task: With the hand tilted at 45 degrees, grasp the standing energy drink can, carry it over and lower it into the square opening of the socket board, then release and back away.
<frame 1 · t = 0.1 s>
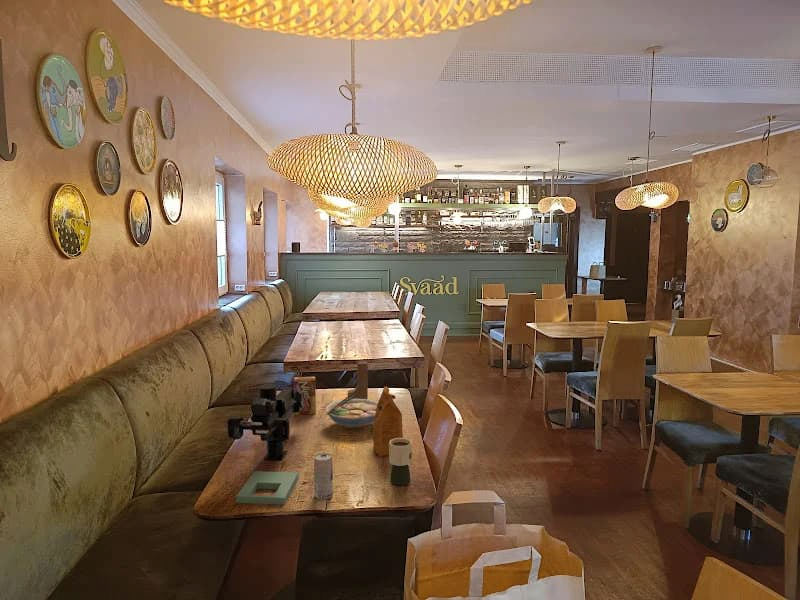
hand: (249, 438, 158), 17 cm above the table, tool horizontal, fingers open, 9 cm apart
energy drink: (323, 496, 158), on the table
candy box: (305, 413, 229), on the table
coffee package: (387, 450, 191), on the table
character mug: (400, 482, 167), on the table
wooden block: (357, 401, 244), on the table
socket board: (268, 490, 161), on the table
ramen bowl: (354, 425, 215), on the table
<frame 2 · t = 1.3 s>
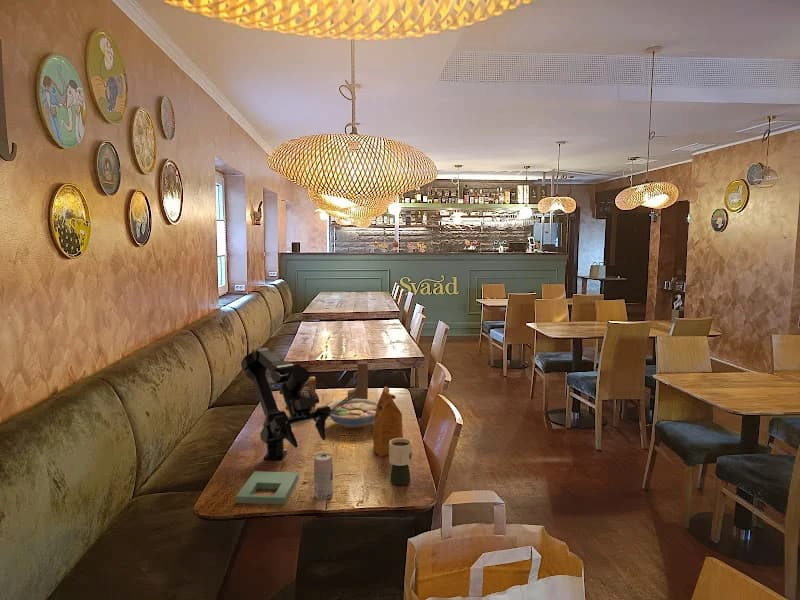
hand: (310, 443, 163), 13 cm above the table, tool tilted 45°, fingers open, 9 cm apart
nothing on the table moved.
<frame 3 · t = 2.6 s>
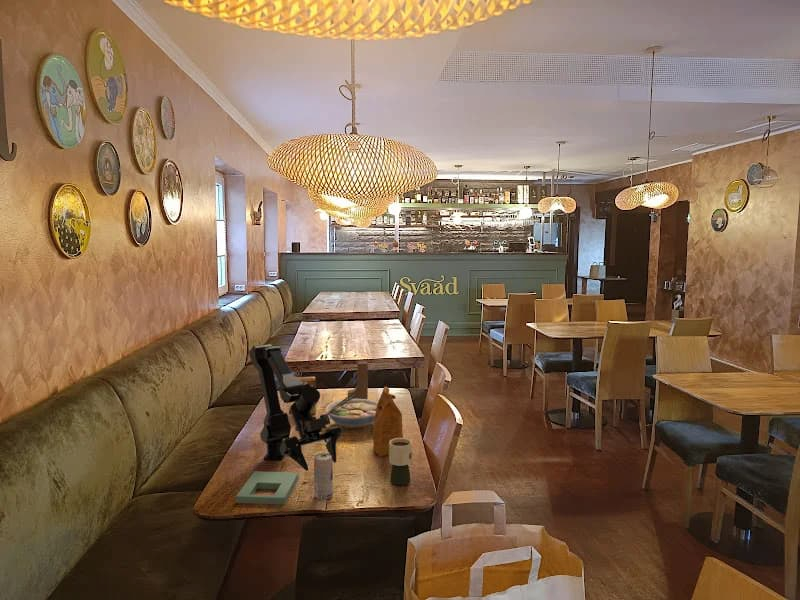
hand: (321, 466, 158), 9 cm above the table, tool tilted 45°, fingers open, 9 cm apart
nothing on the table moved.
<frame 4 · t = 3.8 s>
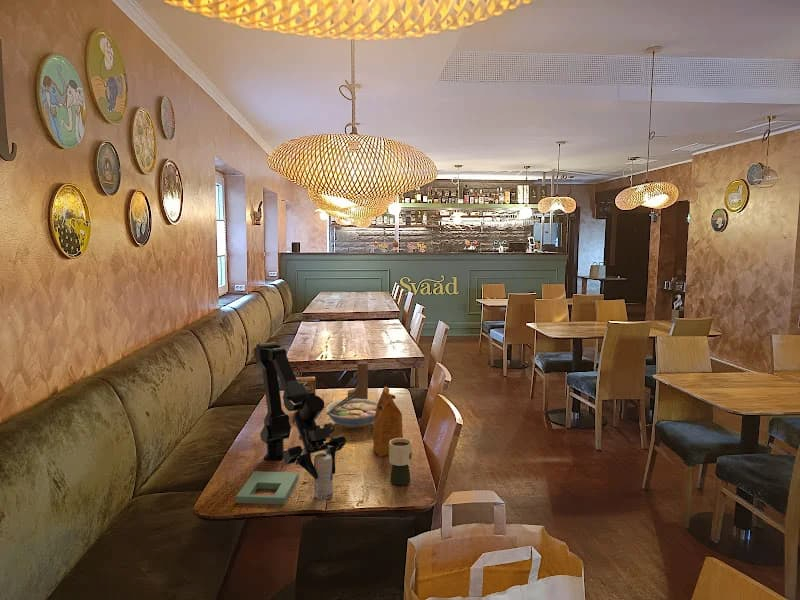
hand: (325, 476, 156), 7 cm above the table, tool tilted 45°, fingers closed on energy drink, 5 cm apart
energy drink: (323, 496, 158), on the table, touching gripper
everything else where it was.
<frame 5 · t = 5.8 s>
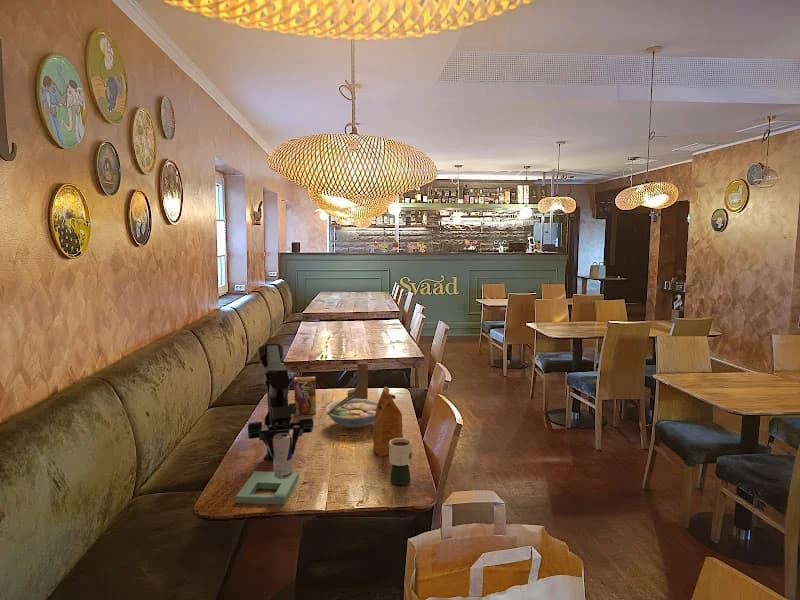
hand: (282, 455, 154), 13 cm above the table, tool tilted 45°, fingers closed on energy drink, 5 cm apart
energy drink: (283, 475, 157), point 6 cm above the table, touching gripper
everything else where it was.
when the fingers open (8 cm above the table, at t = 7.8 s): energy drink drops 2 cm, resting in socket board.
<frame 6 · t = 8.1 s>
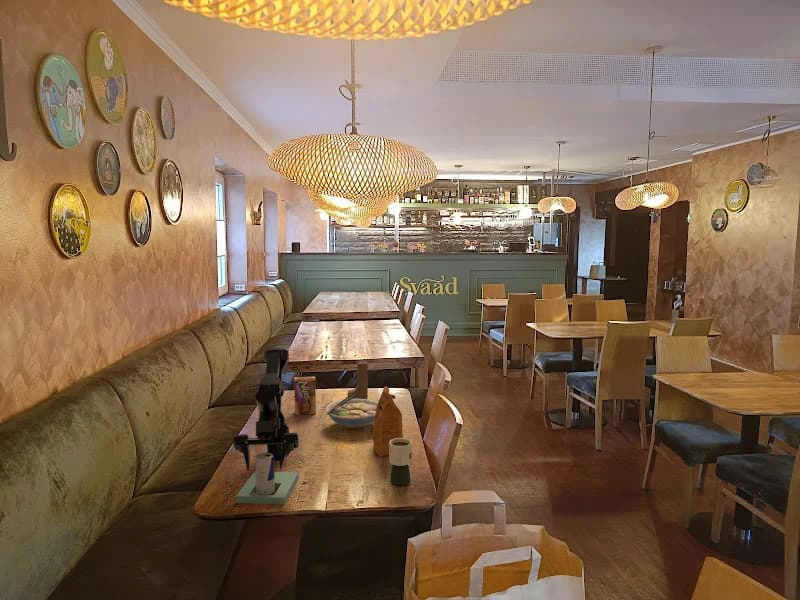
hand: (264, 469, 156), 9 cm above the table, tool tilted 45°, fingers open, 9 cm apart
energy drink: (265, 495, 158), resting in socket board
everything else where it was.
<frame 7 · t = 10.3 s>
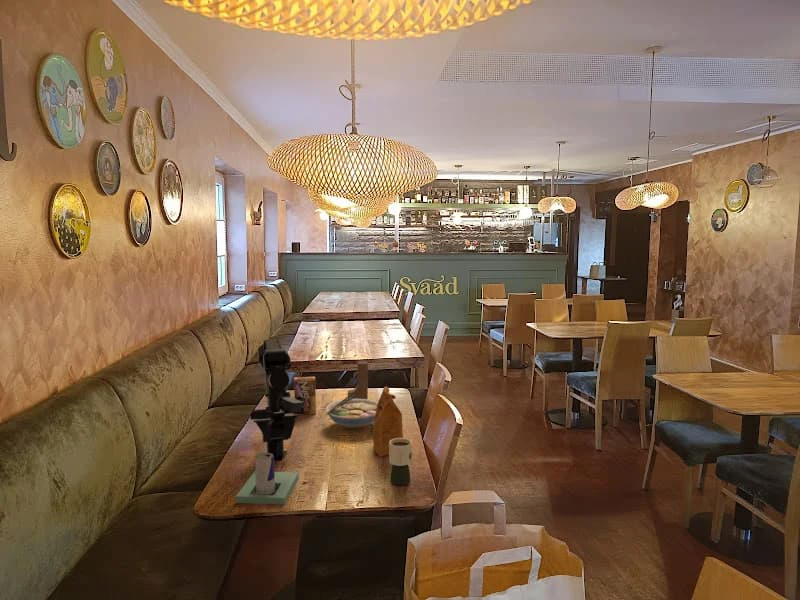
hand: (279, 440, 167), 13 cm above the table, tool tilted 15°, fingers open, 9 cm apart
nothing on the table moved.
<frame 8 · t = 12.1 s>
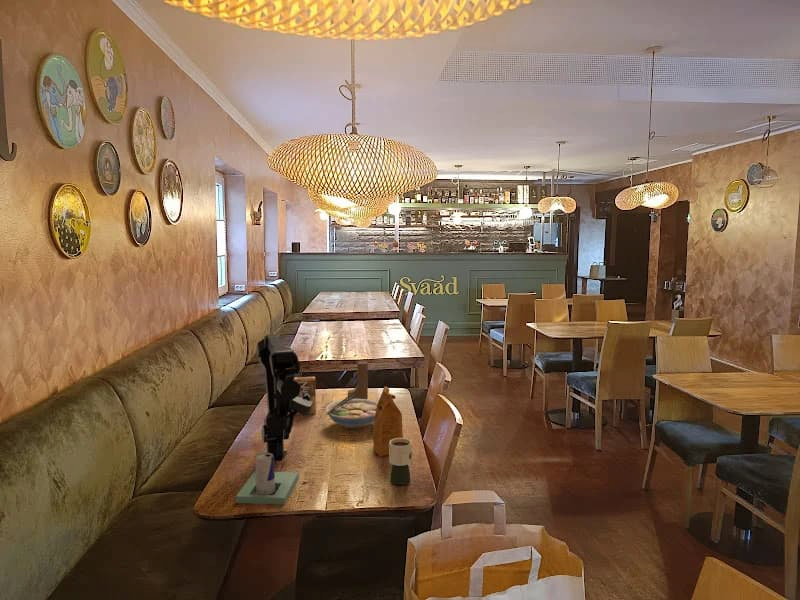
hand: (284, 438, 167), 13 cm above the table, tool pointing down, fingers open, 9 cm apart
nothing on the table moved.
at the end: energy drink 0.2 cm from the target spot on the socket board, point 0.0 cm above the socket board's base; energy drink tilted 0°; the gripper is holding nothing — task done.
